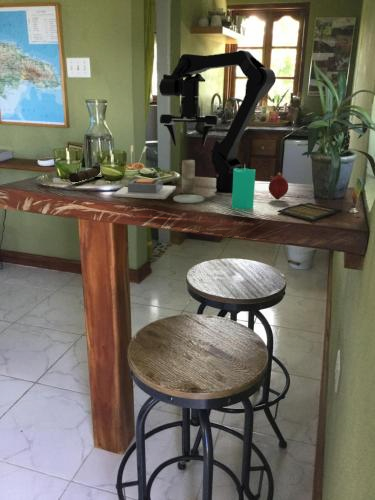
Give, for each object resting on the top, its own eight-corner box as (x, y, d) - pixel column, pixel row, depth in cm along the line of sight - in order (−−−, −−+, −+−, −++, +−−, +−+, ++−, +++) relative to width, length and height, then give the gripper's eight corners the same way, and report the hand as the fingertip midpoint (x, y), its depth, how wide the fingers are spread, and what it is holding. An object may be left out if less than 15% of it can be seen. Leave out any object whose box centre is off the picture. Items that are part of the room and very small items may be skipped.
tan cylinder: (195, 191, 144) (195, 160, 141) (193, 194, 141) (193, 161, 137) (183, 190, 145) (183, 159, 142) (180, 193, 141) (180, 161, 138)
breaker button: (155, 183, 143) (155, 179, 143) (151, 186, 138) (151, 182, 138) (140, 182, 144) (140, 178, 143) (135, 185, 139) (135, 181, 139)
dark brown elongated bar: (78, 184, 149) (76, 170, 147) (69, 184, 151) (67, 170, 149) (111, 176, 165) (110, 163, 164) (102, 176, 167) (101, 163, 165)
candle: (256, 208, 124) (259, 165, 120) (236, 210, 122) (238, 165, 118) (247, 203, 129) (250, 161, 125) (228, 205, 128) (230, 162, 124)
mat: (205, 197, 137) (205, 195, 136) (201, 204, 128) (201, 202, 128) (176, 195, 138) (176, 193, 138) (170, 202, 130) (170, 200, 129)
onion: (290, 201, 133) (292, 174, 130) (271, 201, 132) (273, 174, 130) (283, 197, 139) (285, 171, 136) (265, 197, 138) (267, 171, 135)
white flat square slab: (175, 188, 148) (175, 178, 147) (164, 199, 133) (164, 187, 132) (129, 186, 151) (128, 176, 150) (113, 196, 136) (112, 185, 135)
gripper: (221, 97, 151) (219, 144, 156) (167, 96, 154) (167, 142, 159) (217, 97, 140) (215, 148, 145) (159, 96, 143) (159, 146, 148)
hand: (189, 146), depth 150 cm, fingers open, 9 cm apart
